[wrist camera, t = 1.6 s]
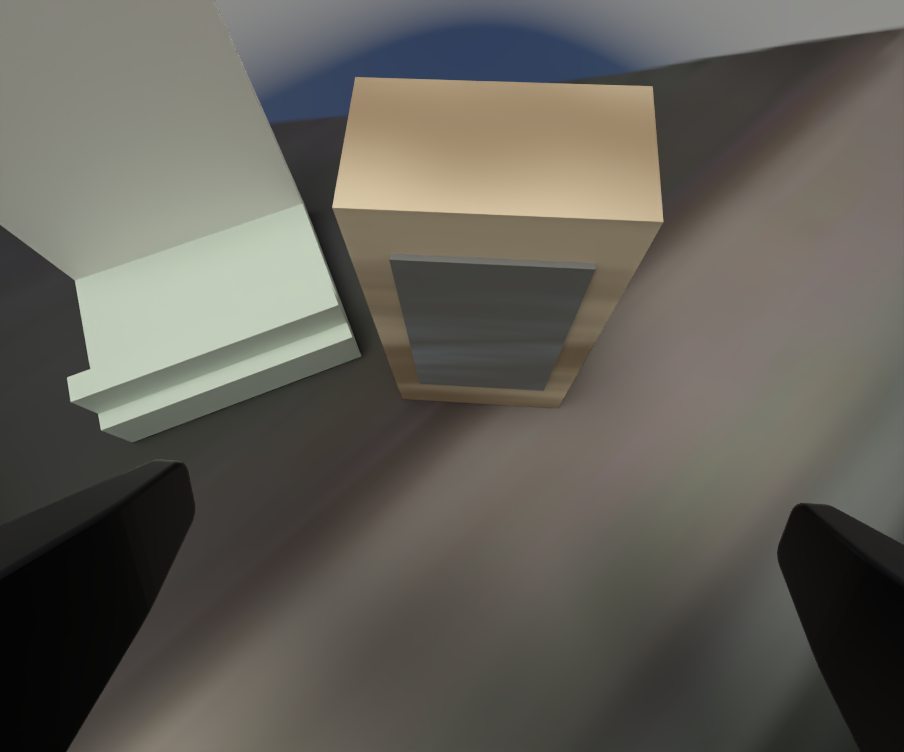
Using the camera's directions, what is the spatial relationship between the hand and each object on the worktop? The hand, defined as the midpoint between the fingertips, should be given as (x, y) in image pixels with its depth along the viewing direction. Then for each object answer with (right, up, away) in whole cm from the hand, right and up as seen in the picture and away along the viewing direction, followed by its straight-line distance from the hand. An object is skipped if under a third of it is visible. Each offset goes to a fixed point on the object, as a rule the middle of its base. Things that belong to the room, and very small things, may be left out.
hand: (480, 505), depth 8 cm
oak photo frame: (+1, +2, +15) cm, 15 cm away
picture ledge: (-10, +4, +16) cm, 19 cm away
